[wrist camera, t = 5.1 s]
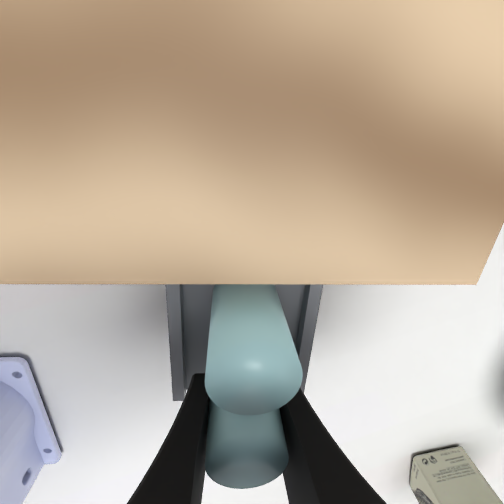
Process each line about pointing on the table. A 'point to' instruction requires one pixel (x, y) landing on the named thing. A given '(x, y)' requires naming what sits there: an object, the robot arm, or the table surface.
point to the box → (449, 479)
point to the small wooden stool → (250, 141)
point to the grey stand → (243, 368)
